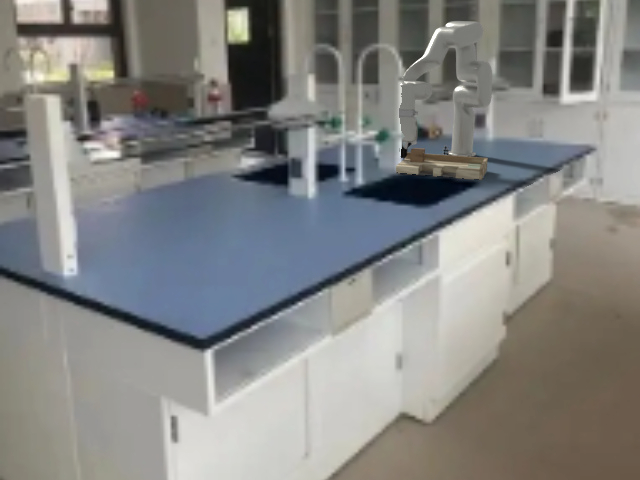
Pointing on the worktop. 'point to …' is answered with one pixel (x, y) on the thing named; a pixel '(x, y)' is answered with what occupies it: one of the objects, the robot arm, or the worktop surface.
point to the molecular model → (448, 152)
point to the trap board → (445, 166)
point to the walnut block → (417, 155)
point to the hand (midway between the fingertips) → (403, 157)
